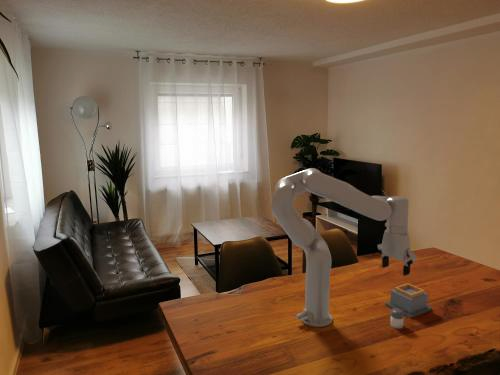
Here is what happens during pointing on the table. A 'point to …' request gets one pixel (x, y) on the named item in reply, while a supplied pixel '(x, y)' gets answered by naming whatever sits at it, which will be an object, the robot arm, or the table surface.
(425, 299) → the grey square peg holder
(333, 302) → the table surface
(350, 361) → the table surface
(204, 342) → the table surface
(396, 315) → the gray and white capsule
